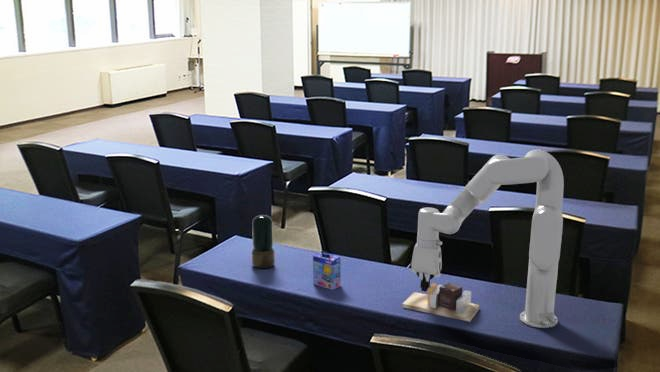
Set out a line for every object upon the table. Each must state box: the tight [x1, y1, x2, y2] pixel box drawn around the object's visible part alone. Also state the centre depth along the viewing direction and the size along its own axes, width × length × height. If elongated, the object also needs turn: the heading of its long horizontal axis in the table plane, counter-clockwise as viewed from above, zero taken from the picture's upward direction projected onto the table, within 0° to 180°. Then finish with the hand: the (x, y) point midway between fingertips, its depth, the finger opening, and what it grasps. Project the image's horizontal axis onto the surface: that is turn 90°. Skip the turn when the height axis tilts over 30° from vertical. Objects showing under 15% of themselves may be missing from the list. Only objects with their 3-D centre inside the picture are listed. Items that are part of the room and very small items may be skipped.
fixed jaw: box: [456, 290, 472, 315], centre depth 239 cm, size 2×10×5 cm, turn 153°
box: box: [439, 282, 463, 310], centre depth 241 cm, size 6×6×7 cm
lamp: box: [251, 214, 276, 269], centre depth 281 cm, size 10×10×22 cm
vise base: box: [401, 291, 480, 322], centre depth 243 cm, size 25×12×2 cm, turn 63°
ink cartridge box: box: [312, 250, 342, 291], centre depth 262 cm, size 10×6×14 cm, turn 56°
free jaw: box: [427, 282, 444, 308], centre depth 243 cm, size 4×10×6 cm, turn 153°
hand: (424, 289), depth 245 cm, fingers closed
